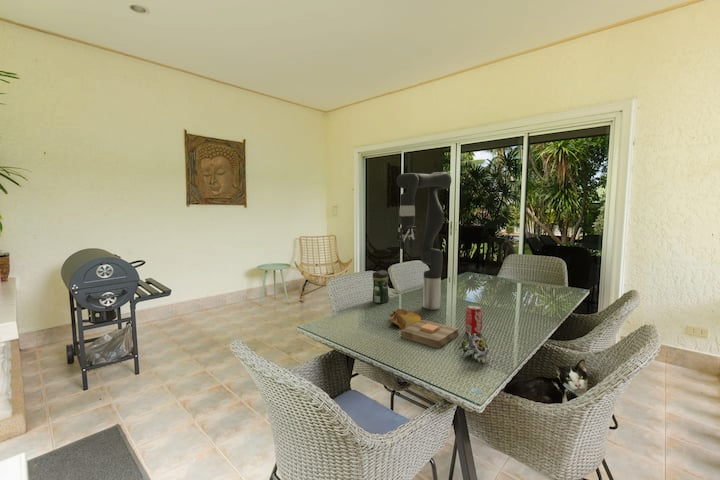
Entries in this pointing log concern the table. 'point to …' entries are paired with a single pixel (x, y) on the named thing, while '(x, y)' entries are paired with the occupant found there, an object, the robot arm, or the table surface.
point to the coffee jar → (380, 286)
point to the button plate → (429, 334)
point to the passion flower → (476, 347)
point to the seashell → (404, 318)
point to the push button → (429, 328)
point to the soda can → (473, 319)
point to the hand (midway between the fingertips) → (406, 248)
